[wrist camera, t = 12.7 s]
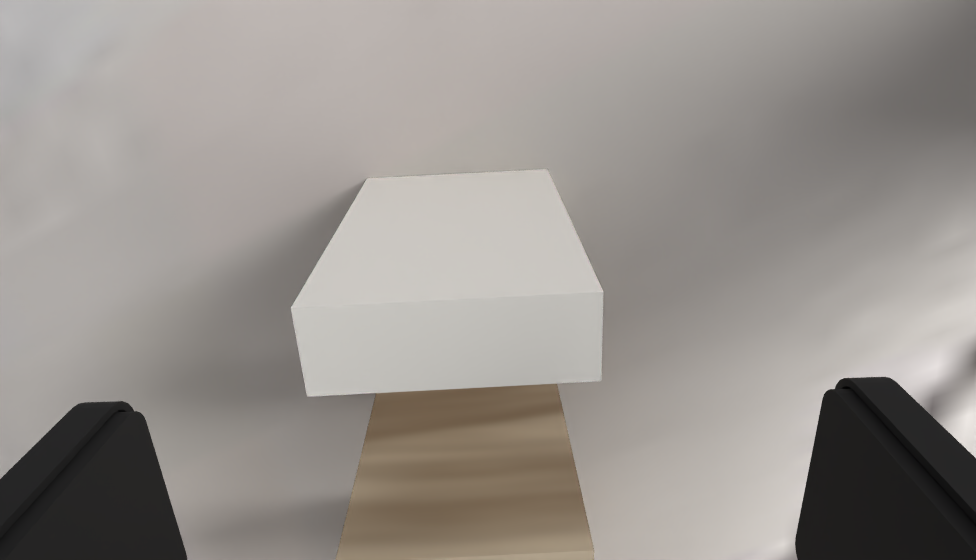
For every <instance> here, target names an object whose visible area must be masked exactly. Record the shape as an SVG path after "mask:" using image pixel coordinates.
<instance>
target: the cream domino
mask: <svg viewBox="0 0 976 560" xmlns="http://www.w3.org/2000/svg"><path fill="white" fill-rule="evenodd" d="M603 294H604V292H603V289H602V287H601V285H600V283H599V281H598V279H597V276H596V274H595V272H594V270H593V268H592V265H591V263H590V261H589V259H588V257H587V254H586V252H585V250H584V248H583V246H582V243H581V241H580V239H579V237H578V235H577V232H576V230H575V228H574V226H573V224H572V221H571V219H570V217H569V215H568V213H567V211H566V208H565V206H564V204H563V202H562V200H561V197H560V195H559V193H558V191H557V189H556V186H555V184H554V182H553V180H552V178H551V175H550V173H549V171H548V169H535V170H516V171H496V172H477V173H457V174H438V175H419V176H399V177H380V178H367V180H366V181H365V183H364V185H363V186H362V188H361V190H360V191H359V193H358V195H357V196H356V198H355V200H354V202H353V203H352V205H351V207H350V208H349V210H348V212H347V213H346V215H345V217H344V219H343V220H342V222H341V224H340V225H339V227H338V229H337V230H336V232H335V234H334V236H333V237H332V239H331V241H330V242H329V244H328V246H327V247H326V249H325V251H324V253H323V254H322V256H321V258H320V259H319V261H318V263H317V264H316V266H315V268H314V269H313V271H312V273H311V275H310V276H309V278H308V280H307V281H306V283H305V285H304V286H303V288H302V290H301V292H300V293H299V295H298V297H297V298H296V300H295V302H294V303H293V305H292V307H291V312H292V318H293V323H294V329H295V334H296V340H297V345H298V351H299V356H300V362H301V367H302V372H303V378H304V383H305V389H306V394H307V397H312V396H331V395H350V394H369V393H388V392H407V391H426V390H445V389H464V388H483V387H502V386H521V385H540V384H559V383H578V382H597V381H601V373H602V334H603Z"/></svg>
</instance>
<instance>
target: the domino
mask: <svg viewBox="0 0 976 560" xmlns="http://www.w3.org/2000/svg"><path fill="white" fill-rule="evenodd" d="M336 560H594V548H593V543H592V539H591V534H590V530H589V525H588V521H587V516H586V512H585V507H584V503H583V498H582V494H581V489H580V485H579V480H578V476H577V471H576V467H575V462H574V458H573V454H572V449H571V445H570V440H569V436H568V431H567V427H566V422H565V418H564V413H563V409H562V404H561V400H560V395H559V391H558V386H557V384H540V385H521V386H502V387H483V388H464V389H445V390H426V391H407V392H388V393H376V396H375V400H374V404H373V408H372V412H371V416H370V420H369V424H368V428H367V432H366V437H365V441H364V445H363V449H362V453H361V457H360V461H359V465H358V469H357V474H356V478H355V482H354V486H353V490H352V494H351V498H350V502H349V506H348V511H347V515H346V519H345V523H344V527H343V531H342V535H341V539H340V543H339V548H338V552H337V556H336Z"/></svg>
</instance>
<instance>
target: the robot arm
mask: <svg viewBox="0 0 976 560" xmlns="http://www.w3.org/2000/svg"><path fill="white" fill-rule="evenodd" d="M795 546H796V554H797V558H798V560H976V458H975V457H974V456H973V455H972V454H971V453H970V452H969V451H967V450H966V449H965V448H964V447H963V446H962V445H961V444H960V443H959V442H958V441H957V440H956V439H955V438H954V437H953V436H952V435H951V434H950V433H949V432H948V431H947V430H946V429H945V428H943V427H942V426H941V425H940V424H939V423H938V422H937V421H936V420H935V419H934V418H933V417H932V416H931V415H930V414H929V413H928V412H927V411H926V410H925V409H924V408H923V407H922V406H921V405H920V404H918V403H917V402H916V401H915V400H914V399H913V398H912V397H911V396H910V395H909V394H908V393H907V392H906V391H905V390H904V389H903V388H902V387H901V386H900V385H899V384H898V383H897V382H895V381H894V380H892V379H891V378H888V377H867V378H844V379H842V380H840V381H839V382H838V383H837V385H836V387H835V389H830V390H828V391H826V393H825V394H824V397H823V400H822V405H821V410H820V415H819V421H818V426H817V431H816V436H815V441H814V446H813V451H812V457H811V462H810V467H809V472H808V477H807V482H806V487H805V493H804V498H803V503H802V508H801V513H800V518H799V523H798V529H797V534H796V541H795ZM0 560H187V555H186V551H185V548H184V545H183V541H182V538H181V535H180V532H179V528H178V525H177V522H176V518H175V515H174V512H173V508H172V505H171V502H170V499H169V495H168V492H167V489H166V485H165V482H164V479H163V475H162V472H161V469H160V466H159V462H158V459H157V456H156V452H155V449H154V446H153V443H152V439H151V436H150V433H149V429H148V426H147V423H146V420H145V418H144V416H143V415H142V414H141V413H140V412H137V411H135V412H134V410H133V408H132V407H131V406H130V405H129V404H128V403H126V402H123V401H119V402H88V403H80V404H78V405H76V406H75V407H73V408H72V409H71V410H70V411H69V412H68V413H67V414H66V415H65V416H64V417H63V418H62V419H61V420H60V421H59V422H58V423H57V424H56V425H55V426H54V427H53V428H52V429H51V430H50V431H49V432H48V433H47V434H46V435H45V436H44V437H43V438H42V439H41V440H40V441H39V442H38V443H37V444H36V445H35V446H34V447H32V448H31V449H30V450H29V451H28V452H27V453H26V454H25V455H24V456H23V457H22V458H21V459H20V460H19V461H18V462H17V463H16V464H15V465H14V466H13V467H12V468H11V469H10V470H9V471H8V472H7V473H6V474H5V475H4V476H3V477H2V478H1V479H0Z"/></svg>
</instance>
